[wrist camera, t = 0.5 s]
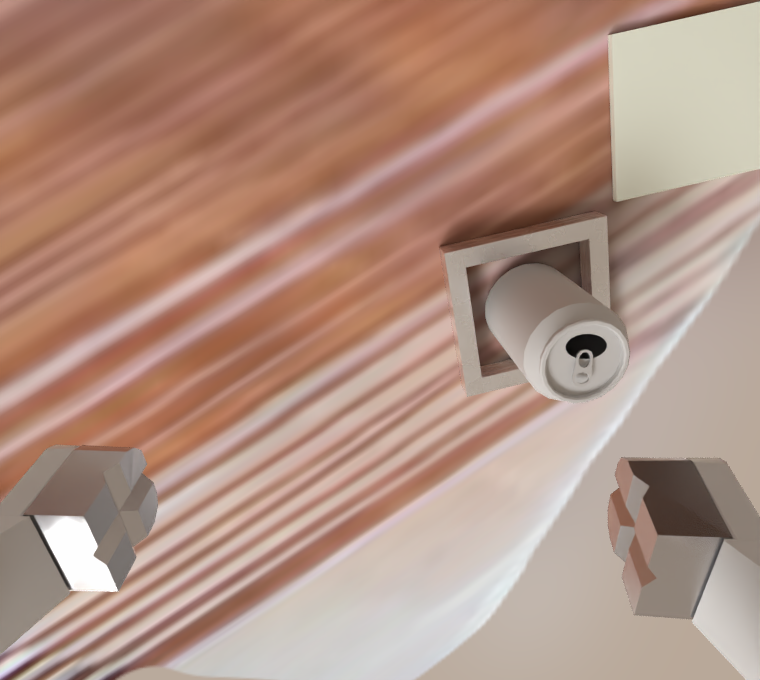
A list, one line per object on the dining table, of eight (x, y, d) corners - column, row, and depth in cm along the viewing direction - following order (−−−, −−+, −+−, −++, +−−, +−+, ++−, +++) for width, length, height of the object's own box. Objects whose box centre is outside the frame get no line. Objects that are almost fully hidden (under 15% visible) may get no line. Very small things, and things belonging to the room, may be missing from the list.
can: (576, 263, 48) (655, 315, 37) (556, 345, 51) (623, 415, 40) (490, 256, 47) (545, 307, 36) (474, 340, 50) (521, 411, 39)
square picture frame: (438, 247, 46) (444, 253, 44) (595, 210, 47) (607, 215, 45) (461, 385, 52) (467, 396, 50) (601, 352, 52) (612, 362, 50)
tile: (607, 35, 41) (611, 34, 41) (768, -1, 42) (774, -2, 41) (613, 200, 46) (616, 201, 46) (756, 167, 47) (761, 168, 46)
